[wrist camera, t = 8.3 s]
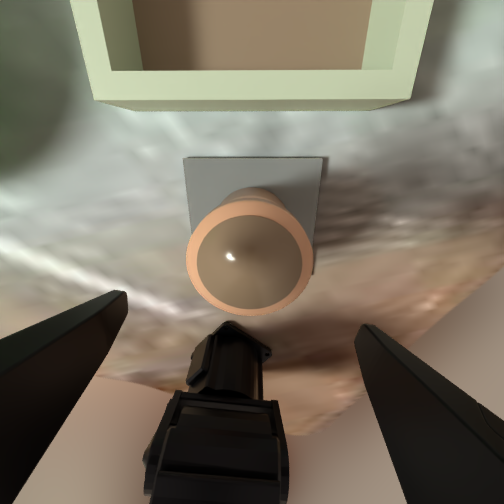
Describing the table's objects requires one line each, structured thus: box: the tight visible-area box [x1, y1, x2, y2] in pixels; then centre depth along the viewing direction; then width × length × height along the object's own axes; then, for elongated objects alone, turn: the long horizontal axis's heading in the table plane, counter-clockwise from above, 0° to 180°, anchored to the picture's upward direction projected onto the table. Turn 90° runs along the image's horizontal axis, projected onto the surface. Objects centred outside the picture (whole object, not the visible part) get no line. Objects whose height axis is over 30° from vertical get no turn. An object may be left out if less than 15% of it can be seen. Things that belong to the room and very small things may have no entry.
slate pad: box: [183, 158, 323, 247], centre depth 19 cm, size 10×10×1 cm
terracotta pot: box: [186, 187, 313, 316], centre depth 15 cm, size 7×7×7 cm
